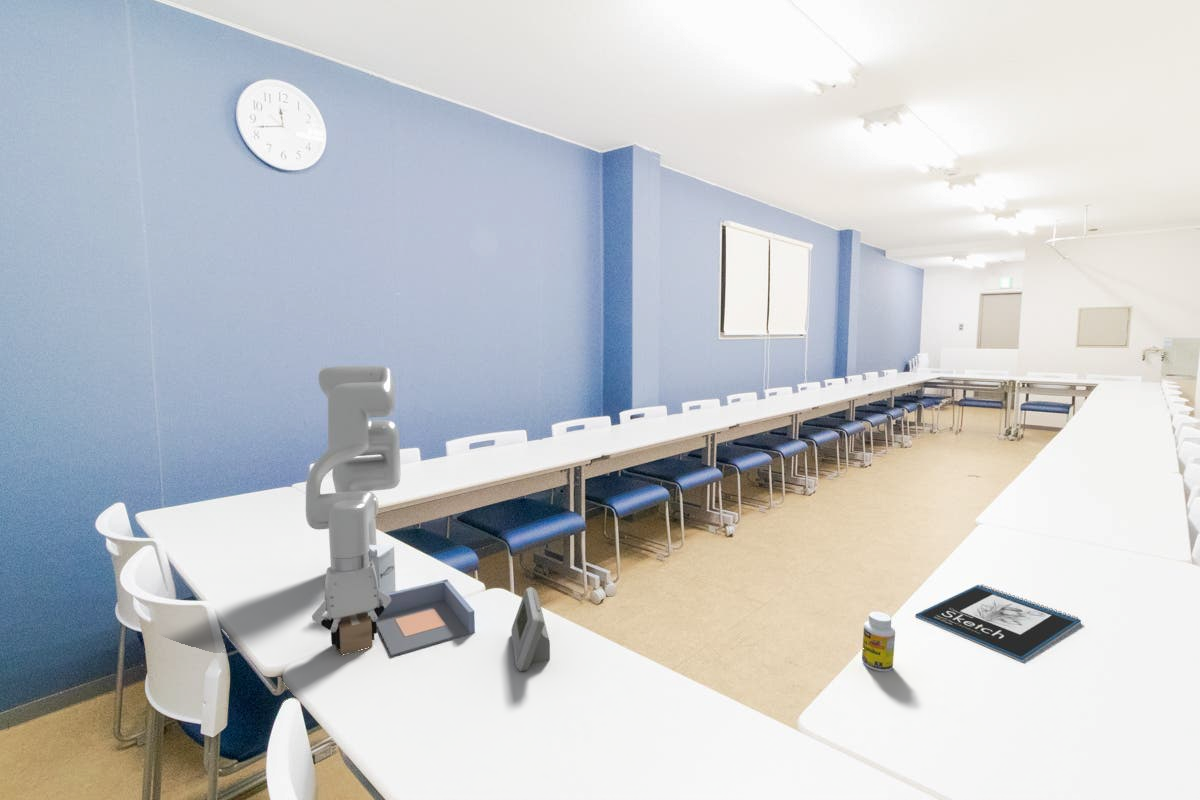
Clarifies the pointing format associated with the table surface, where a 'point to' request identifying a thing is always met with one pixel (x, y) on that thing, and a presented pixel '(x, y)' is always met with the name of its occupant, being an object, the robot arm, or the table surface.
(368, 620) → the brown cardboard box
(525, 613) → the digital clock
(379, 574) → the supplement box
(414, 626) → the arena
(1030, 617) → the sketchbook
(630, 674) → the table surface
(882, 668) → the supplement bottle
